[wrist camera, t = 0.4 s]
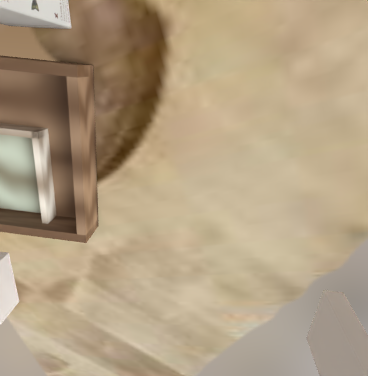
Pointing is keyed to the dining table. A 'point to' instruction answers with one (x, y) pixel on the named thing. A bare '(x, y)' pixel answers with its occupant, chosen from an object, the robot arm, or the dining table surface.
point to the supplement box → (35, 13)
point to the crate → (47, 149)
